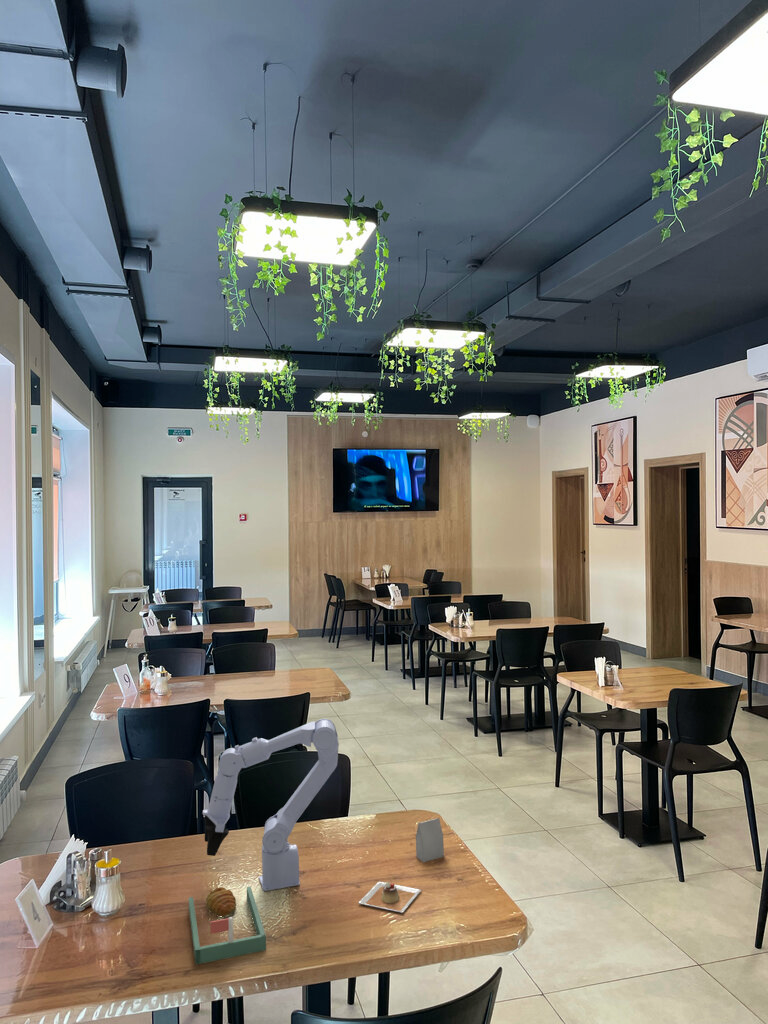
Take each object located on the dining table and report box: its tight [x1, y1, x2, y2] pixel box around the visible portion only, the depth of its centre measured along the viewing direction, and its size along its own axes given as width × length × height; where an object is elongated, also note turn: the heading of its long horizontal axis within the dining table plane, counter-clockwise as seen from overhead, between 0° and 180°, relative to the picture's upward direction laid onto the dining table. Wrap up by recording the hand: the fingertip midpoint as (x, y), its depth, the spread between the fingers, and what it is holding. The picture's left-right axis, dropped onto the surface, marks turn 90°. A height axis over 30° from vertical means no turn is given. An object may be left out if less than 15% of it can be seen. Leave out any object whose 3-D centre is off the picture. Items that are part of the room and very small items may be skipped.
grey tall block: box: [415, 817, 445, 863], centre depth 200 cm, size 4×7×10 cm, turn 119°
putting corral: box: [188, 886, 267, 965], centre depth 166 cm, size 15×24×8 cm, turn 18°
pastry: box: [205, 886, 237, 918], centre depth 175 cm, size 9×7×4 cm
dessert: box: [357, 879, 422, 914], centre depth 178 cm, size 12×12×5 cm
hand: (209, 848), depth 186 cm, fingers open, 7 cm apart
